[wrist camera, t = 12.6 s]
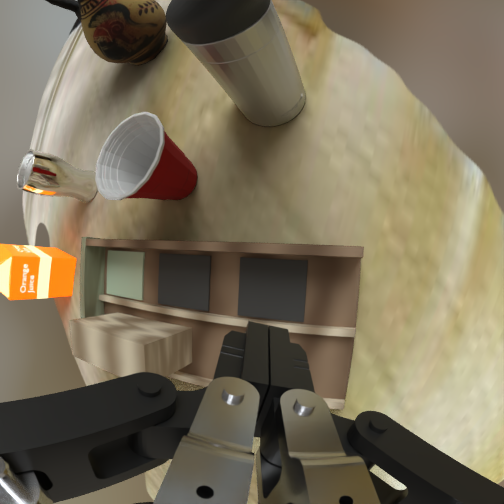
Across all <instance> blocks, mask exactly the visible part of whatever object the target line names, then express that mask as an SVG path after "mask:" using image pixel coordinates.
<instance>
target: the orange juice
mask: <svg viewBox="0 0 504 504" xmlns="http://www.w3.org/2000/svg"><path fill="white" fill-rule="evenodd" d="M75 266H76V258H74V257H72V256H70V255H69V254H67V253H65V252H63V251H61V250H59V249H57V248H50V247H36V246H25V245H24V246H22V245H8V244H0V292H1V293H2V294H4V295H5V296H6V297H7V298H8V299H9V300H21V299H35V298H36V299H39V298H40V299H41V298H51V297H64V296H72V290H73V281H74V273H75Z"/></svg>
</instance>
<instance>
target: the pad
mask: <svg viewBox="0 0 504 504" xmlns="http://www.w3.org/2000/svg"><path fill="white" fill-rule="evenodd" d="M144 259H145V252H130V251H112V250H108V257H107V294H111V295H116V296H121V297H126V298H131V299H137V300H143V287H144Z"/></svg>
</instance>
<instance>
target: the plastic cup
mask: <svg viewBox="0 0 504 504" xmlns="http://www.w3.org/2000/svg"><path fill="white" fill-rule="evenodd" d="M95 181H96V184H97V188H98V191H99V193H100V194H102V195H103V196H104V197H105V198H106V199H110V200H122V199H124V198H149V199H161V200H166V199H170V200H180V199H182V198H185V197H187V196H188V195H189V194H190V193H191V192H192V191H193V189H194V187H195V186H196V182H197V171H196V169H195V167H194V166H193V164H192V163H191V162H190V160H189V159H188V158H187V157H186V156H185V155H184V153H183V152H182V151H181V150H180V149H179V148H178V147H177V146H176V144H175V143H174V142H173V141H172V140H171V139H170V138H169V137H168V136H167V134H166V132H165V131H164V127H163V125H162V124H161V122H160V120H159V119H158V117H157V115H154V114H151V113H149V112H142V113H137V114H133V115H132V116H130V117H129V118H127V119H125V120H124V121H122V122H121V123H120V124H119V125H118V126H117V127H116V128H115V129H114V130H113V131H112V133H111V134H110V135H109V137H108V138H107V140H106V142H105V143H104V145H103V147H102V149H101V151H100V154H99V157H98V160H97V164H96V174H95Z"/></svg>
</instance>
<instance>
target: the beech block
mask: <svg viewBox="0 0 504 504" xmlns="http://www.w3.org/2000/svg"><path fill="white" fill-rule="evenodd" d="M69 322H70V335H71V346H72V354H73V356H75V357H77V358H79V359H81V360H83V361H86V362H88V363H90V364H92V365H94V366H96V367H98V368H101V369H103V370H105V371H107V372H110V373H112V374H114V375H117V376H119V377H124V376H127V375H131V374H135V373H139V372H151V373H156V374H159V375H162V376H164V377H167V376H169V375H171V374H172V373H174V372H176V371H178V370H180V369H181V368H183V367H185V366H187V365H189V364H190V363H192V328H191V327H185V326H180V325H175V324H169V323H164V322H159V321H155V320H150V319H145V318H141V317H136V316H132V315H127V314H123V313H119V312H117V313H112V314H106V315H100V316H94V317H87V318H81V319H75V320H69Z"/></svg>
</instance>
